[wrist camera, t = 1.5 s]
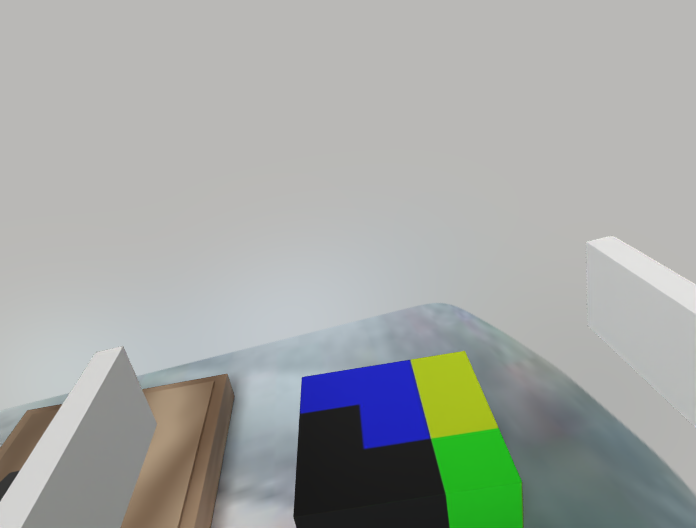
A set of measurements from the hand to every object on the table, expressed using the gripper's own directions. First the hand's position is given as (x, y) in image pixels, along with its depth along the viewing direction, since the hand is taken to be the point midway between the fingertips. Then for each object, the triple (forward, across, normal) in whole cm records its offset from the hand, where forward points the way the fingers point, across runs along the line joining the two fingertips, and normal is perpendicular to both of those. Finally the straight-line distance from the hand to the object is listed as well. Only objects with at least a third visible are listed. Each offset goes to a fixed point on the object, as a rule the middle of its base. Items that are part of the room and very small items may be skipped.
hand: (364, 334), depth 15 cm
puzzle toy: (+9, 0, -21) cm, 23 cm away
